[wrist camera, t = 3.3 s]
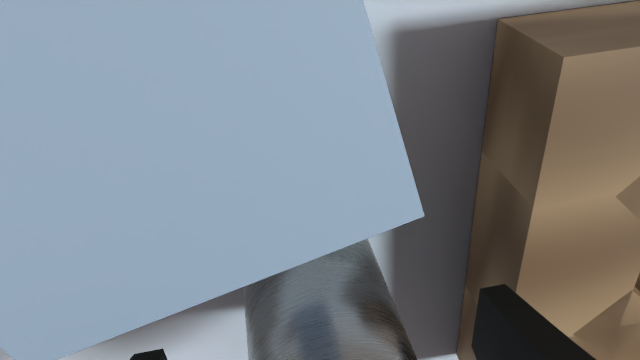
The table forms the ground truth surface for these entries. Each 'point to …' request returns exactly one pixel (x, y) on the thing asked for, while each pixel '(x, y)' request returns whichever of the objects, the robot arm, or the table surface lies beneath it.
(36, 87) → the square peg
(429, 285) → the table surface
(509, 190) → the bore block
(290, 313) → the round peg
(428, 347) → the table surface
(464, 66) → the table surface
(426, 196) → the table surface
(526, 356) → the robot arm
